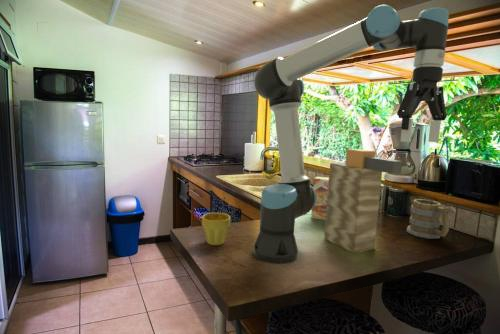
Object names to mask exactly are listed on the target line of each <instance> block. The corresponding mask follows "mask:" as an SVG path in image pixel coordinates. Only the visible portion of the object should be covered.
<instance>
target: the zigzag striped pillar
mask: <svg viewBox="0 0 500 334" xmlns="http://www.w3.org/2000/svg"><path fill="white" fill-rule="evenodd" d="M328 176H329V177H328V178H329V186H328V199H327V212H326V220H325V228H324V239H325V240H327V241H329V242H331V243H332V244H336V245H337V246H339V247H341V248H343V249H345V250H348V251H350V252H352V253H353V254H358V253H362V252H368V251H371V250H375V247H376V238H377V226H378V218H379V209H380V208H379V207H380V206H379V205H380V197H381V188H382V187H381V186H382V178H383V177H382V176H383V172H380V171H375V170H370V169H365V168H357V167H352V166H346V165H345V162H334V163H333V162H330V163H329V174H328Z"/></svg>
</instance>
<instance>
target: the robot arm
mask: <svg viewBox="0 0 500 334" xmlns="http://www.w3.org/2000/svg"><path fill="white" fill-rule="evenodd" d="M449 13H450V12H449V10H447V9H446V8H443V7H430V8H428V9H423V10H422V11H420V13H419V16H418V17H417V19H411V20H402V18H401V16H400V14H399V13H398V11H397V9H394V8H393V6H391V5H389V4H380V5H378V6H374V8H373V9H371V11H370V12H369V13H368V15H366V17H365V18H363V19H362V20H360V21H357V22H356V23H354V24H351V25H349V26H347V27H345V28H343V29H341V30H339V31H337V32H335V33H333V34H331V35H329V36H327V37H324V38H323V39H321V40H319V41H316V42H314V43H313V44H311V45H308V46H305V47H304V48H301V49H300V50H298V51H295V52H294V53H292V54H290V55H287V56H285V57H281V56H279V57H277V58H274V59H272V60H271V61H268V62H266V63H265V64H263V65H262V66H261V67H259V69H258V70H257V71H256V73H255V76H254V81H253V83H254V85H253V86H254V88H255V91H256V93H257V94H258V95H259V96H260V97H261V98H263V99H266V100H268V105H269V109H270V110H271V111H272V112H273V113H274V114H273V115H274V122H275V131H276V138H277V147H278V149H277V150H278V156H279V164H280V165H279V166H280V172H281V173H280V174H281V177H280V179H279V180H278V181H277V183H276V184H270V185H267V186H265V187H264V188H263V189H262V191H261V197H260V212H259V213H260V214H259V217H260V218H259V219H260V220H259V232H258V235H257V236H256V240H255V242H254V245H253V256H254V257H255V258H256V259H258V260H261V261H262V262H267V263H269V264H270V263H271V264H273V263H274V264H287V263H288V264H289V263H291V262H294V261H296V260H297V259H298V256H299V248H298V243H297V241H296V237H295V226H296V225H295V221H296V219H298V218H299V217H302V216H305V215H307V214H308V213H310V211H312V208H313V207H314V205H315V203H316V193H315V190H314V189H313V187H312V185H311V180H310V179H311V178H310V177H309V176H307V175H306V172H305V163H304V156H303V155H304V154H303V145H302V137H301V129H300V119H299V111H298V110H299V108H300V106H302V99H301V98H302V95H303V94H304V90H305V83H304V80H303V79H302V78H303V77H305V76H308V75H310V74H312V73H314V72H316V71H318V70H322V69H323V68H325V67H327V66H329V65H330V66H331V65H332V64H334V63H336V62H338V61H342V60H343V59H346V58H348V57H351V56H352V55H354V54H357V53H359V52H361V51H364V50H366V49H368V48H371V47H373V49H374V50H375V51H389V50H400V49H413V48H415V51H414V61H413V67H414V69H413V70H412V79H411V80H412V82H408V83H407V86H406V91H405V92H404V96H403V98H402V100H401V103H400V105H399V108H398V110H397V112H396V114H397V116H398V118H399V119H401V127H400V128H401V129H400V131H401V132H400V133H401V134H400V142H403V143H404V142H405V143H411V141H412V132H413V131H412V130H413V125H414V124H413V122H414V118H412V116H413V115H414V113H416V110H417V109H418V107H419V106H420V105H421V102H425V103H426V104H427V107H428V109H429V112H430V115H431V118H432V119H431V120H430V122H429V123H430V124H429V133H428V143H429V142H431V143H440V142H439V141H440V140H439V139H440V134H441V131H440V130H441V123H442V121H445V120H446V119H447V116H448V115H447V110H446V104H445V97H444V86H438V83H439V82H441V81H442V79H443V71H444V69H443V66H444V61H445V57H446V54H445V53H446V46H447V38H448V30H449V18H450V14H449Z"/></svg>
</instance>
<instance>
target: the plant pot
mask: <svg viewBox="0 0 500 334" xmlns="http://www.w3.org/2000/svg"><path fill="white" fill-rule="evenodd" d="M231 220H232V219H231V215H229V214H228V213H223V212H209V213H205V214H203V215H202V216H201V227H202V228H203V231H204V234H205V235H204V237H205V239H206V243H207V244H208V245H211V246H220V245H223V244H224V243H225V242H226V237H227V233H228V230H229V228H230V226H231Z"/></svg>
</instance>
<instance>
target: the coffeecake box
mask: <svg viewBox="0 0 500 334" xmlns="http://www.w3.org/2000/svg"><path fill="white" fill-rule="evenodd" d="M328 186H329V177H325V176H315V177H314V178H313V187H312V188H313V189H314V190H315V193H316V203H315V205H314V207H313V208H312V209H311V216H310V218H311V219H315V220H317V219H318V220H322V221H326V212H327V199H328Z"/></svg>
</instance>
